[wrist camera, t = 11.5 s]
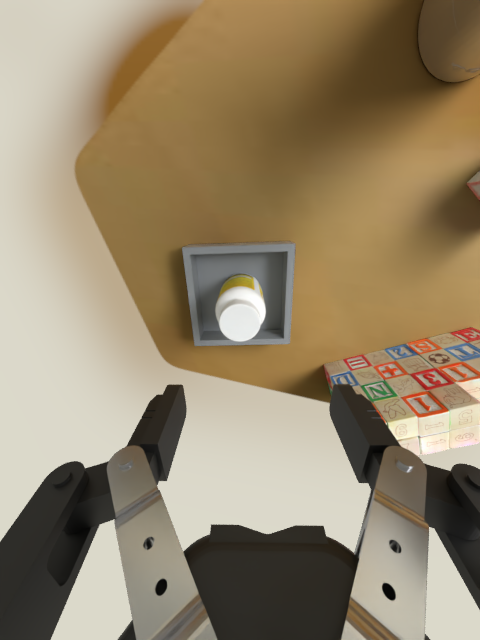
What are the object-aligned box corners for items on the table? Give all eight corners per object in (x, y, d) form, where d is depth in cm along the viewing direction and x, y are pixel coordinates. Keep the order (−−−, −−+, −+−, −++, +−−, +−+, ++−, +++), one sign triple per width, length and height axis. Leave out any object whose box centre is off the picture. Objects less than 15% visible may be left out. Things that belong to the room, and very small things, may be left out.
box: (188, 244, 29) (181, 247, 26) (289, 240, 29) (295, 243, 25) (199, 334, 34) (194, 345, 31) (285, 332, 34) (289, 343, 30)
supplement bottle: (212, 292, 31) (199, 322, 22) (242, 263, 29) (240, 283, 20) (240, 319, 32) (239, 357, 23) (270, 293, 31) (280, 324, 22)
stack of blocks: (471, 324, 33) (591, 379, 22) (469, 360, 35) (576, 426, 24) (321, 364, 36) (357, 430, 25) (329, 394, 38) (364, 467, 27)
